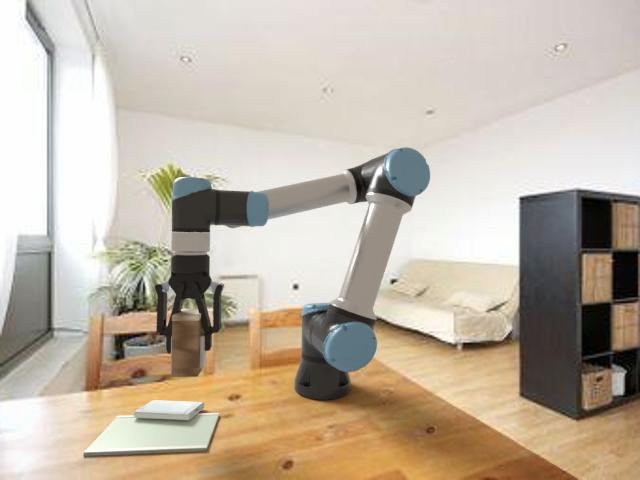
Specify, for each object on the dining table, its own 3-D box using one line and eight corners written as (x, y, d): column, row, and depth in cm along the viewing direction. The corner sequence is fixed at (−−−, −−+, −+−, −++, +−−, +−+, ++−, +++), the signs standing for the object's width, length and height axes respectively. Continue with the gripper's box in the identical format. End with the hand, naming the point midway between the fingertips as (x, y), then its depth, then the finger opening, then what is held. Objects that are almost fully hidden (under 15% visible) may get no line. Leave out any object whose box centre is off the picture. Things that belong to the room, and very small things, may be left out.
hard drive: (133, 411, 81) (188, 413, 80) (154, 399, 89) (204, 400, 88) (133, 419, 81) (188, 421, 79) (154, 406, 89) (204, 408, 87)
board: (219, 415, 84) (219, 412, 84) (206, 451, 70) (206, 447, 70) (117, 418, 82) (117, 415, 82) (83, 456, 68) (83, 452, 68)
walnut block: (205, 364, 81) (206, 308, 81) (197, 376, 74) (198, 315, 74) (180, 364, 80) (181, 308, 80) (170, 377, 73) (172, 315, 73)
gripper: (237, 253, 81) (235, 359, 81) (151, 252, 80) (149, 360, 80) (233, 255, 74) (230, 372, 74) (138, 253, 72) (136, 373, 72)
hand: (188, 366), depth 77 cm, fingers closed on walnut block, 5 cm apart
